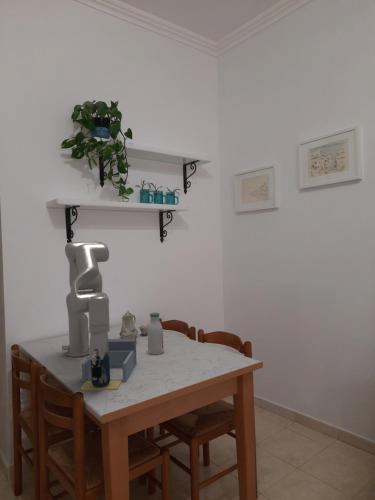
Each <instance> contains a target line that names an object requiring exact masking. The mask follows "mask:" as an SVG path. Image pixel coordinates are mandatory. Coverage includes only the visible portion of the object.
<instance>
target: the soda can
mask: <svg viewBox="0 0 375 500" xmlns="http://www.w3.org/2000/svg"><path fill="white" fill-rule="evenodd" d="M97 362H99V361H97ZM100 366H101V375H102V376H101V378H93V376H92V360H91V376H90V378H91V379H90V380H92V384H93V386H94V387H97V388H101V387H105V386H107V385H108V384H109V382H110V380H111V370H110V369H111V368H110V363H109V356H108V354H105V356H104V359H103V360H101V364H100Z"/></svg>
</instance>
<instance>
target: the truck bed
mask: <svg viewBox="0 0 375 500" xmlns="http://www.w3.org/2000/svg"><path fill="white" fill-rule="evenodd" d="M108 342H109V352H108V356H109V363H110V369H115V368H117V369H118V368H119V369H121V368H122V380H123V381H122V382H123V383H126V382H127V381H128V380H129V378H130V376H131V374H132V372H133V371H134V369H135V367H136V366H137V362H138V361H137V338H135V339H121V338H108ZM81 374H82V375H81V380H82V381H81V382H82V383H85V382H86V381H87V380H90V378H91V360H90V356H89V357H87V359H86V360H85V361H83V363H81Z"/></svg>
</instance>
